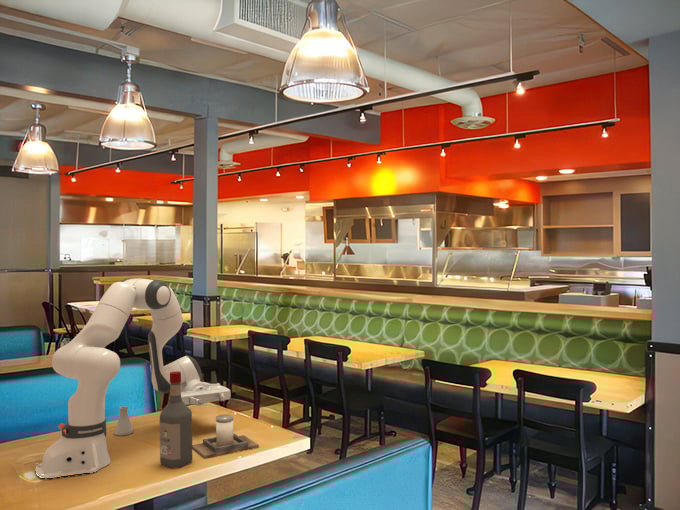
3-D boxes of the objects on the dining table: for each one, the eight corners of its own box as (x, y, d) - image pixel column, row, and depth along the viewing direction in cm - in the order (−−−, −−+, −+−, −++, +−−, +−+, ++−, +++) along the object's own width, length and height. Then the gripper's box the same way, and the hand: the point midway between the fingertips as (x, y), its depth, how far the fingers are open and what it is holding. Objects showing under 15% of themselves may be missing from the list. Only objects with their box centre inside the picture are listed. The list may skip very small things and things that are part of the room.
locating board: (204, 458, 203) (204, 451, 203) (191, 448, 214) (191, 441, 214) (258, 447, 213) (258, 440, 213) (243, 437, 224) (243, 431, 224)
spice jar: (219, 449, 209) (219, 420, 209) (213, 444, 214) (213, 416, 214) (236, 445, 213) (235, 417, 212) (229, 441, 218) (229, 413, 217)
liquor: (176, 469, 193) (174, 376, 192) (156, 464, 198) (154, 373, 197) (196, 461, 201) (195, 371, 200) (177, 456, 205) (175, 368, 205)
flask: (137, 430, 235) (136, 405, 235) (128, 436, 228) (127, 410, 227) (119, 430, 236) (119, 404, 235) (110, 436, 228) (109, 409, 228)
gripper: (171, 388, 230) (183, 395, 218) (222, 382, 241) (236, 388, 229) (171, 404, 230) (183, 412, 218) (222, 398, 241) (236, 405, 229)
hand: (210, 400), depth 224 cm, fingers open, 8 cm apart
